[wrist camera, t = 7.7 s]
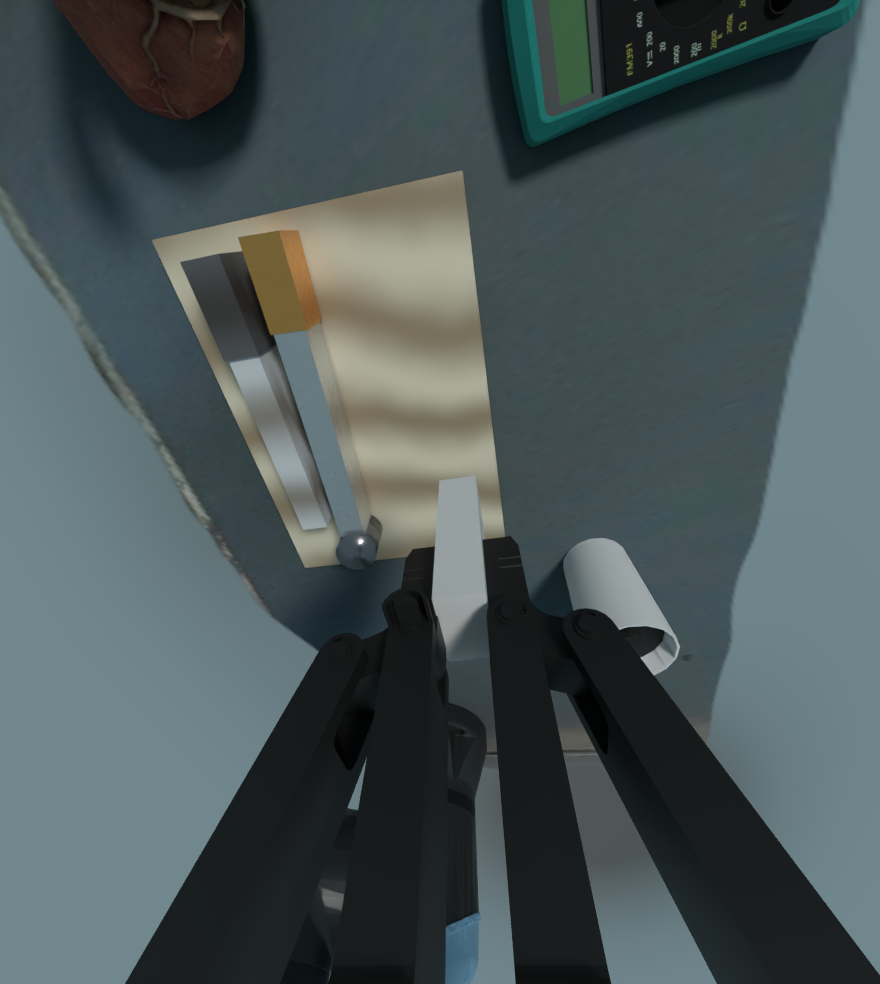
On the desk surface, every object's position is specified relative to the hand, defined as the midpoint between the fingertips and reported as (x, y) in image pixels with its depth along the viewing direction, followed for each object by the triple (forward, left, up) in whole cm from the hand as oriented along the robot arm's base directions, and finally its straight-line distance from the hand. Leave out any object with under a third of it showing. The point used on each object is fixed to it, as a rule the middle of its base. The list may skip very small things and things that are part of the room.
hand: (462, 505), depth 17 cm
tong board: (-1, +8, -15) cm, 17 cm away
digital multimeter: (+17, -12, -16) cm, 27 cm away
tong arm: (0, +10, -14) cm, 17 cm away
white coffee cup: (-19, -10, -16) cm, 26 cm away
